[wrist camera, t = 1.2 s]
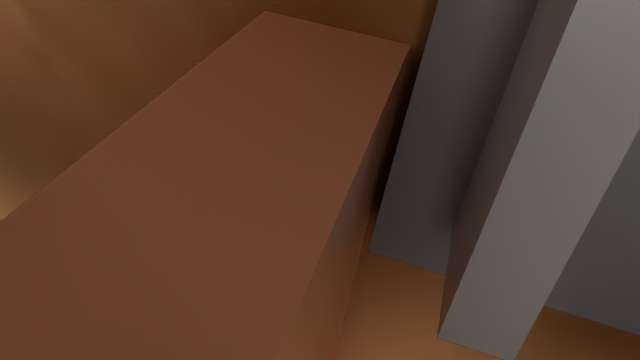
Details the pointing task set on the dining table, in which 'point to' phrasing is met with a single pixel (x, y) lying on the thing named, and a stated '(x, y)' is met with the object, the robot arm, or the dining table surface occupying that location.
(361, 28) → the dining table surface
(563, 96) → the rack
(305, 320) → the brown flat rectangular slab
